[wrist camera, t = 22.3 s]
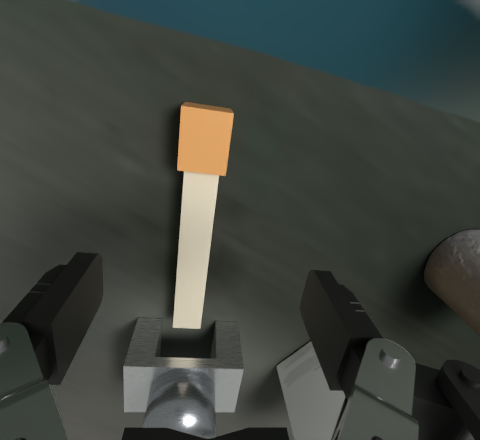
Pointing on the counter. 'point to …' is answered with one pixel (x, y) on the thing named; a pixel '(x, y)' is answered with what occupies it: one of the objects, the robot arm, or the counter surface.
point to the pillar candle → (457, 275)
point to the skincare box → (308, 396)
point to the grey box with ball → (182, 380)
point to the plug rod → (198, 202)
